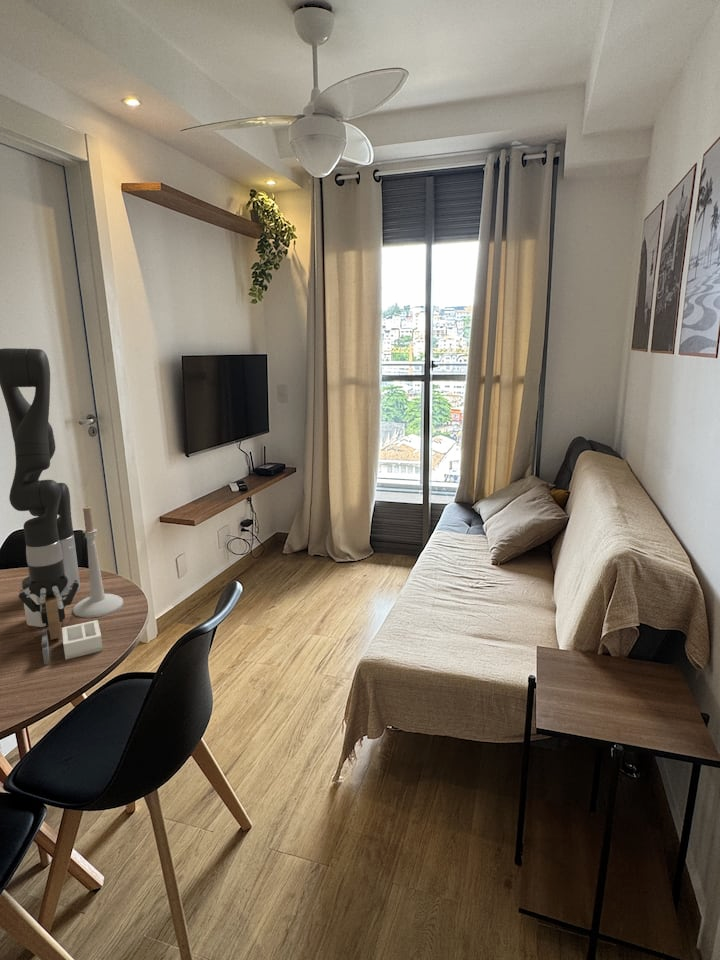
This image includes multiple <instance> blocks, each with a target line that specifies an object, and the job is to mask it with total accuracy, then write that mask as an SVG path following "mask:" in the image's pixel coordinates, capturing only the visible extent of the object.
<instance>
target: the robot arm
mask: <svg viewBox="0 0 720 960" xmlns="http://www.w3.org/2000/svg"><path fill="white" fill-rule="evenodd" d="M20 388H35V391H34V397H33V400H32V403H31V404H30V403H29V401H27V399H26V398H25V397H24V395H23V394H22V391H21V390H20ZM0 389H1V392H2V395H3V398H4V402H5V404H6V409H7V412H8V416H9V423H10V428H11V433H12V439H13V443H14V450H15V451H14V455H15V469H14V475H13V480H12V484H11V487H10V490H9V491H10V492H9V497H8V498H9V499H8V500H9V503H10V505H11V506H12V508H13V509H15V511H17V512H18V511H19V512H28V513H29V514H30V515H31V516H33V518H30V519H28V520H26V521H25V522H24V523H23V535H24V542H25V556H26V563H27V568H28V574H29V576H30V584H29V587H28V588H26V589H25V590H23V589H20V590H19V592H18V598H19V599H20V600H21V601H22V602H23V604H24V603H25V604H26V605H27V607H28V608H29V609H30V610H31V611H32V612H36V611H38V612H40V613H41V617H42V622H43V624H45V623H46V625H47V626H48V619H47V613H43V614H42V609H43V608H46V605H45V599H46V598H48V597H54V596H55V597H56V600H57V605H58V614H59V621H60V623H62V622H63V620H65V619H66V613H65V607H66V606H70V605H71V604H72V602H73V600H74V597H75V596H76V594H77V592H78V591H79V590H80V589H81V581H80V573H79V566H78V565H79V564H78V557H77V550H76V542H75V541H76V540H75V533H74V528H73V520H72V511H71V510H72V509H71V508H72V507H71V493H70V490H69V487H68V484H66V483H65V482H57V481H55V480H54V479H41V480H40V477H41V476H42V475H41V474H42V473H43V471H46V470H48V469H49V468H50V466H51V460H52V458H53V456H54V454H55V452H56V440H55V436H54V430H53V426H52V424H51V423H50V422H49V416H50V400H51V399H50V398H51V397H50V395H51V368H50V362H49V358H48V356H47V353H46V351H45V350H43V349H40V348H14V347H13V348H10V347H9V348H8V347H7V348H6V347H5V348H0ZM29 576H28V577H29ZM30 592H33V593H34V594H35V595H36V596H38V597H39V598H40V605H37V604H36V603H35V602H34V601H33V600H32V599H31V598H30V595H31V594H30ZM64 596H66V597H65V599H63V597H64Z"/></svg>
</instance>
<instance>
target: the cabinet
mask: <svg viewBox="0 0 720 960" xmlns="http://www.w3.org/2000/svg"><path fill="white" fill-rule="evenodd" d="M99 625H100V624H99V620H98V619H95V620H92V621H86V622H82V623H77V624H73V625H68V626H64V627H61V635H62V643H63V651H64V652H63V653H64V658H65V660H66V661H67V660H70V659H74V658H78V657H82V656H87V655H91V654H95V653H98V652H102V651H104V649H103V641H102V639H103V638H102V634H101V628H100V626H99ZM40 632H41V650H42V657H43V664H44V666H45V665H47V666H48V665H50V643H49V638H48V637H49V636H48V631H47V629H46V628H42V629H41V631H40Z"/></svg>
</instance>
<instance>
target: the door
mask: <svg viewBox="0 0 720 960" xmlns="http://www.w3.org/2000/svg"><path fill="white" fill-rule="evenodd" d="M45 605H46V608H43V609H42V614H43V613H47V619H48V625H47V626H48V632H49V639H50V640H54V639H60V638H62V625H61V622H60V621H59V614H58V605H57V600H56V597H55V596H54V597H48V598H46V599H45Z"/></svg>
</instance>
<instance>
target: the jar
mask: <svg viewBox="0 0 720 960" xmlns="http://www.w3.org/2000/svg"><path fill="white" fill-rule="evenodd" d="M29 584H30V576H27V577H25V578H24V579H22V581H21V587H22V590H25V589H26V588H28V587H29ZM30 594H31V595H30V598H31V599H32V600H33V601H34V602H35V603H36V604H37V605H40V598H39V597H38V596H36V595H35V594H34V593H33V592H30ZM23 609H24V615H25V620H26V625H27V626H30V627H37V628H38V627H39V628H43V627H46V626H48V625H46V623H45V624H43V622H42V617H41V613H40V612H38V611H36V612H32V611H31V610H30V609H29V608H28V607H27V605H26V604H25V603H24V602H23Z"/></svg>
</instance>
